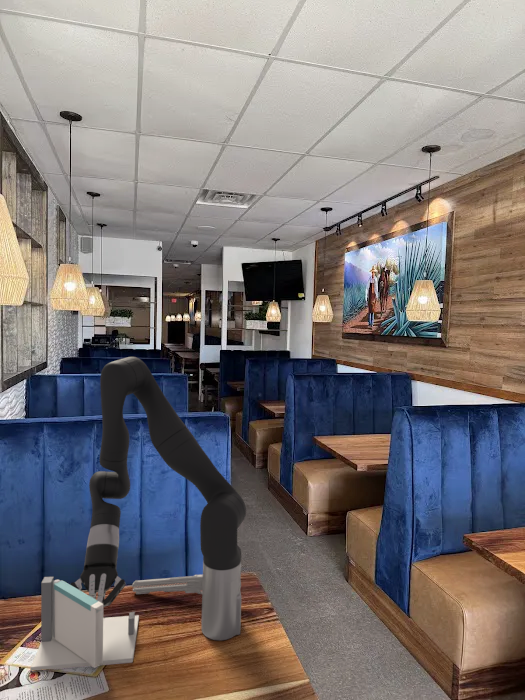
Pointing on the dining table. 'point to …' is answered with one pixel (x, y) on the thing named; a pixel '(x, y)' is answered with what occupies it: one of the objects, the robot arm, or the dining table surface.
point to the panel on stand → (56, 656)
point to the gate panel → (78, 622)
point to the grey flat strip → (191, 586)
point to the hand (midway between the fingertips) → (93, 627)
